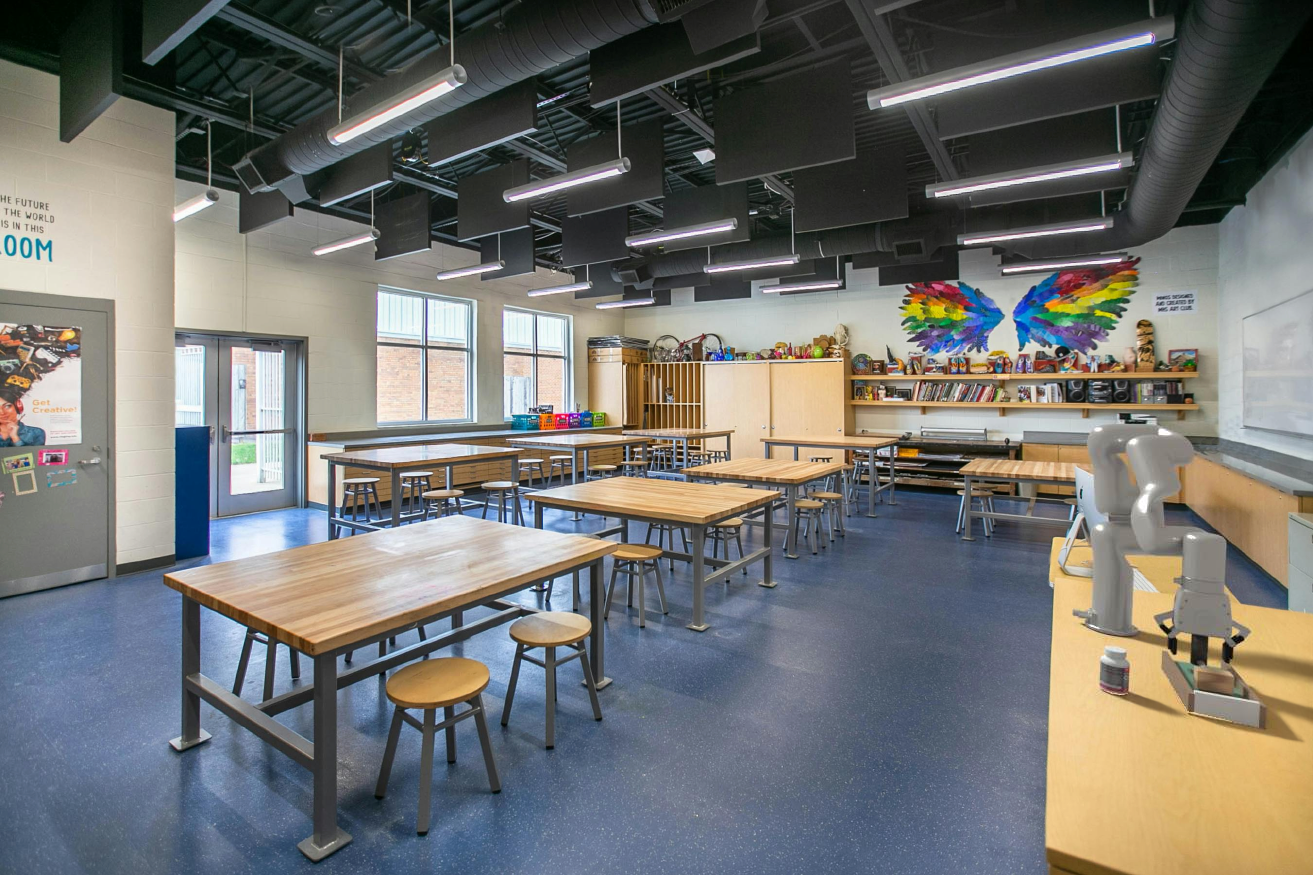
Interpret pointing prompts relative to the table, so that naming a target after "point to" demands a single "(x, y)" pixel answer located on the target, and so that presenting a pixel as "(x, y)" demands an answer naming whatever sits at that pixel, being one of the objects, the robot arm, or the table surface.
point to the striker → (1208, 669)
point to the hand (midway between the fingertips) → (1199, 656)
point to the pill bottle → (1114, 670)
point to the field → (1215, 695)
